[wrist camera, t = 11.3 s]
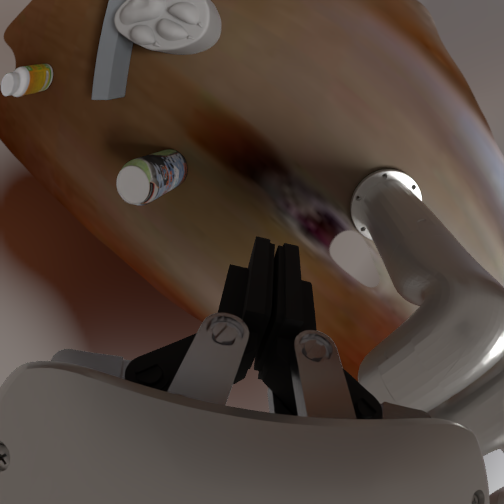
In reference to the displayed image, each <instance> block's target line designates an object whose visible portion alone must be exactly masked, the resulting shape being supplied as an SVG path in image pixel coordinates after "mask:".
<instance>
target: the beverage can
mask: <svg viewBox="0 0 504 504" xmlns="http://www.w3.org/2000/svg"><path fill="white" fill-rule="evenodd" d="M187 171H188V167H187V163H186V160H185V158H184V157H183V156H182V155H181V154H180V153H179V152H177V151H175V150H170V149H168V150H163V151H160V152H156V153H153V154H150V155H146V156H143V157H140V158H136V159H133V160H131V161H129V162H127V163H126V164H125V165H124V166H123V168H122V169H121V171H120V172H119V174H118V177H117V190H118V192H119V195H120V196H121V198H122V199H123V200H124V201H126V202H127V203H130V204H135V205H146V204H148V203H150V202H152V201H153V200H155V199H157V198H158V197H160V196H162V195H163V194H165V193H167V192H168V191H170V190H172V189H174V188H175V187H177V186H179V185H180V184H182V182H183V181H184V180H185V178H186V176H187Z"/></svg>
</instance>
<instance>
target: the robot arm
mask: <svg viewBox="0 0 504 504" xmlns="http://www.w3.org/2000/svg"><path fill="white" fill-rule="evenodd" d="M383 174H384V175H383ZM382 175H383V176H382ZM357 196H359V197H357ZM350 212H351V217H352V220H353V223H354V225H355V226H356V228H357V230H358V231H359V232H360V233H361V234H362V235H363V236H365V237H366V238H368V239H370V240H373V241H374V243H375V246H376V248H377V250H378V252H379V254H380V256H381V258H382V260H383V262H384V265H385V267H386V269H387V271H388V273H389V276H390V278H391V280H392V282H393V284H394V287H395V288H396V290H397V292H398V293H399V294H400V295H401V296H402V297H403V298H404V299H405V300H407V301H409V302H410V303H413V304H415V305H418V306H420V307H419V308H418V309H417V310H416V311H415V312H414V313H413V314H412V315H411V316H410V317H409V319H408V320H406V321H405V322H404V323H403V324H402V325H401V326H400V327H398V328H397V329H396V330H395V331H394V332H393V333H391V334H390V335H389V336H388V337H387V338H385V339H384V340H383V341H382V342H381V343H380V344H378V345H377V346H376V347H375V348H374V349H373V350H372V351H370V352H369V353H368V355H367V356H366V357H365V358H364V360H363V361H362V363H361V365H360V368H359V372H358V381H359V382H357V381H356V380H355V379H354V378H353V377H352V376H351V375H350V374H349V373H348V372H346V371H345V370H344V369H343V368H342V365H341V361H340V358H339V354H338V351H337V348H336V346H335V344H334V342H333V341H332V340H331V338H330V337H328V336H327V335H326V334H324V333H322V332H319V331H316V320H315V310H314V301H313V291H312V284H311V283H310V282H307V281H302V280H301V270H300V257H299V247H298V246H295V245H291V244H287V243H284V245H283V246H278V248H277V251H276V254H275V257H274V249H275V244H271V243H270V239H265V238H261V237H257V236H256V239H255V243H254V247H253V251H252V254H251V258H250V262H249V266H248V268H244V267H239V266H235V265H230V266H229V270H228V274H227V278H226V282H225V286H224V290H223V294H222V298H221V302H220V306H219V310H218V313H215V314H211V315H210V316H208V317H207V318H206V319H205V320H204V321H203V322H202V324H201V326H200V328H199V330H198V332H197V333H196V334H194V335H191V336H189V337H186V338H184V339H182V340H179V341H177V342H174V343H172V344H169V345H167V346H165V347H162V348H160V349H157V350H155V351H152V352H150V353H147V354H144V355H142V356H139V357H137V358H135V359H134V360H132V361H130V360H123V357H120V356H113V355H105V354H98V353H91V352H85V351H79V350H73V349H64V350H61V351H59V352H57V353H56V354H55V355H54V356H53V358H52V360H51V361H37V362H30V363H26V364H23V365H21V366H19V367H18V368H16V369H15V370H14V371H13V372H12V373H11V374H10V375H9V376H8V377H7V379H6V380H5V381H4V383H3V384H2V386H1V387H0V504H504V487H502V488H500V489H499V490H497V491H495V492H494V493H492V494H491V495H490V496H489V489H488V481H487V475H486V469H485V464H484V460H483V456H484V455H486V454H488V453H490V452H492V451H494V450H497V449H501V450H502V451H503V452H504V287H503V286H502V285H501V284H500V283H499V282H498V281H497V280H496V279H495V278H494V277H493V276H492V275H490V274H489V273H488V272H487V271H486V270H485V269H484V268H483V267H482V266H481V265H480V264H479V263H478V262H477V261H476V260H475V259H474V258H473V257H472V256H471V255H470V254H469V253H468V252H467V251H466V250H465V248H464V247H463V246H462V245H461V244H460V243H459V242H458V241H457V239H456V238H455V237H454V236H453V235H452V233H451V232H450V231H449V230H448V229H447V228H446V227H445V226H444V225H443V223H442V222H441V221H440V220H439V219H438V218H437V217H436V216H435V215H434V214H433V212H432V211H431V210H430V209H429V208H428V207H427V206H426V205H425V204H424V203H423V202H422V195H421V191H420V189H419V187H418V185H417V184H416V182H415V181H414V180H413V179H412V178H411V177H410V176H409V175H407V174H406V173H404V172H402V171H400V170H396V169H382V170H378V171H375V172H373V173H371V174H370V175H368V176H367V177H365V178H364V179H363V180H362V181H361V182H360V183H359V185H358V186H357V188H356V189H355V191H354V193H353V196H352V199H351V204H350ZM361 227H362V228H361ZM254 358H255V363H254V370H258V371H259V374H258V379H262V380H263V382H264V383H265V384H266V385H267V386H268V387H269V388H268V402H269V413H267V412H259V411H254V410H247V409H241V408H235V407H230V406H225V405H226V402H227V399H228V396H229V394H230V391H231V388H232V385H233V384H235V383H237V382H238V381H240V380H242V379H244V378H245V376H246V373H247V370H248V369H250V367H251V365H252V362H253V360H254Z"/></svg>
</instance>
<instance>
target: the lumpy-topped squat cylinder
mask: <svg viewBox="0 0 504 504" xmlns="http://www.w3.org/2000/svg"><path fill="white" fill-rule="evenodd" d="M114 22H115V26H116V28H117V30H118V31H119V32H120V33H121V34H122V35H123V36H125V37H126V38H128V39H129V40H131V41H132V42H134V43H136V44H138V45H140V46H142V47H144V48H146V49H149V50H153V51H159V52H164V53H169V54H179V55H187V54H195V53H199V52H202V51H205V50H207V49H209V48H210V47H212V46H213V45H214V44H215V43H216V42H217V40H218V39H219V37H220V33H221V19H220V16H219V13H218V11H217V9H216V7H215V5H214V4H213V3H212V2H211V0H126V1H125V2H124V3H123V4H122V5H121V6H120V8H119V9H118V10H117V12H116V14H115V18H114Z"/></svg>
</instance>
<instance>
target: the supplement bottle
mask: <svg viewBox="0 0 504 504" xmlns="http://www.w3.org/2000/svg"><path fill="white" fill-rule="evenodd" d="M52 78H53V70H52V67H51V66H50V65H49V64H38V65H30V66H23V67H19V68H17V69H16V70H15V71H14V72H11V73H7V74H6V75H5V76H4V77H3V79H2V82H1V92H2V94H3V95H4V96H9V95H13V96H15V97H19V96H23V95H27V94H31V93H36V92H40V91H44V90H46V89H47V88H48V87H49V86H50V84H51V82H52Z"/></svg>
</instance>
